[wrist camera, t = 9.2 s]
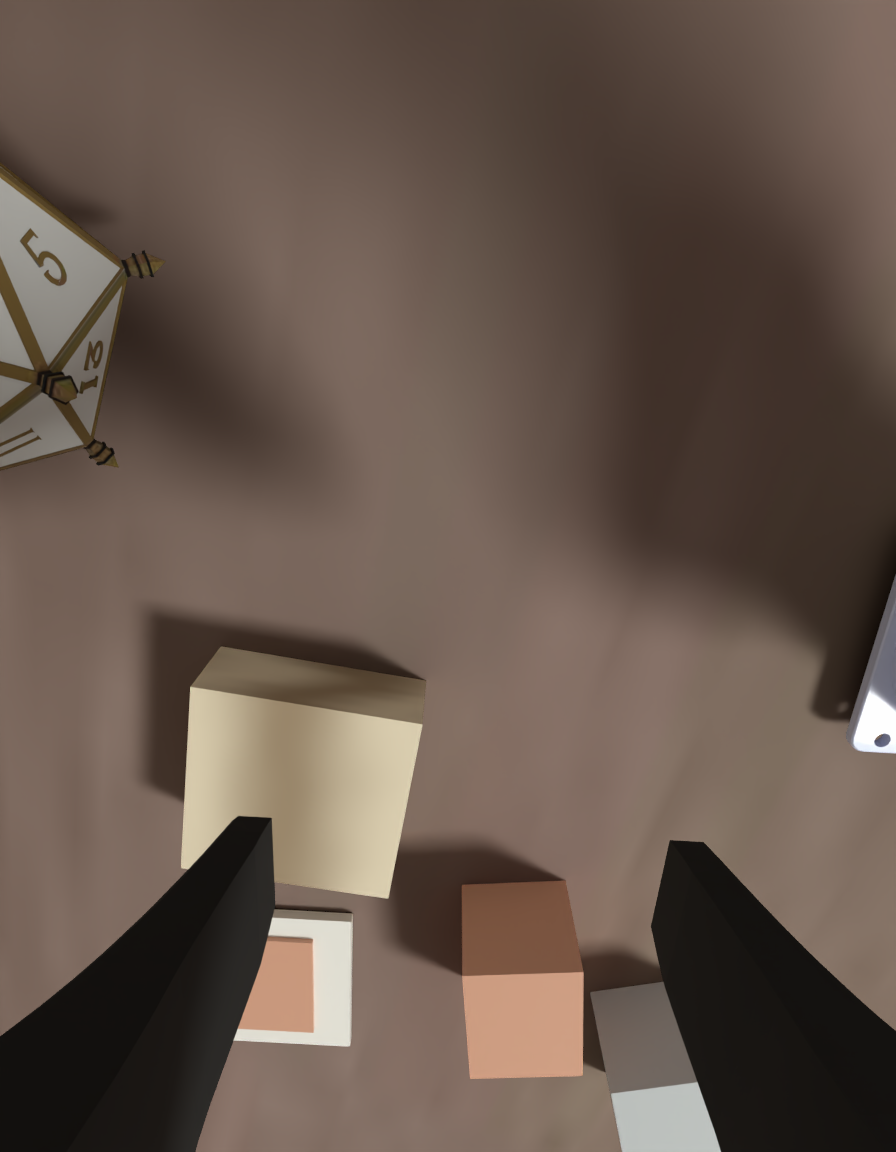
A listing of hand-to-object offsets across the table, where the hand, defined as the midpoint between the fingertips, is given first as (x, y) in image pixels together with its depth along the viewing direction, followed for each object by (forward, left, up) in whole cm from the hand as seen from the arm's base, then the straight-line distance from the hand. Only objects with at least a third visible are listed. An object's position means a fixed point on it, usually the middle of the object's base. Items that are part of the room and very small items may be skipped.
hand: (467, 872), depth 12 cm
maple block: (+5, +5, -11) cm, 13 cm away
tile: (+7, +16, -10) cm, 20 cm away
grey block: (-9, +18, -11) cm, 23 cm away
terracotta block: (-3, +13, -11) cm, 17 cm away
